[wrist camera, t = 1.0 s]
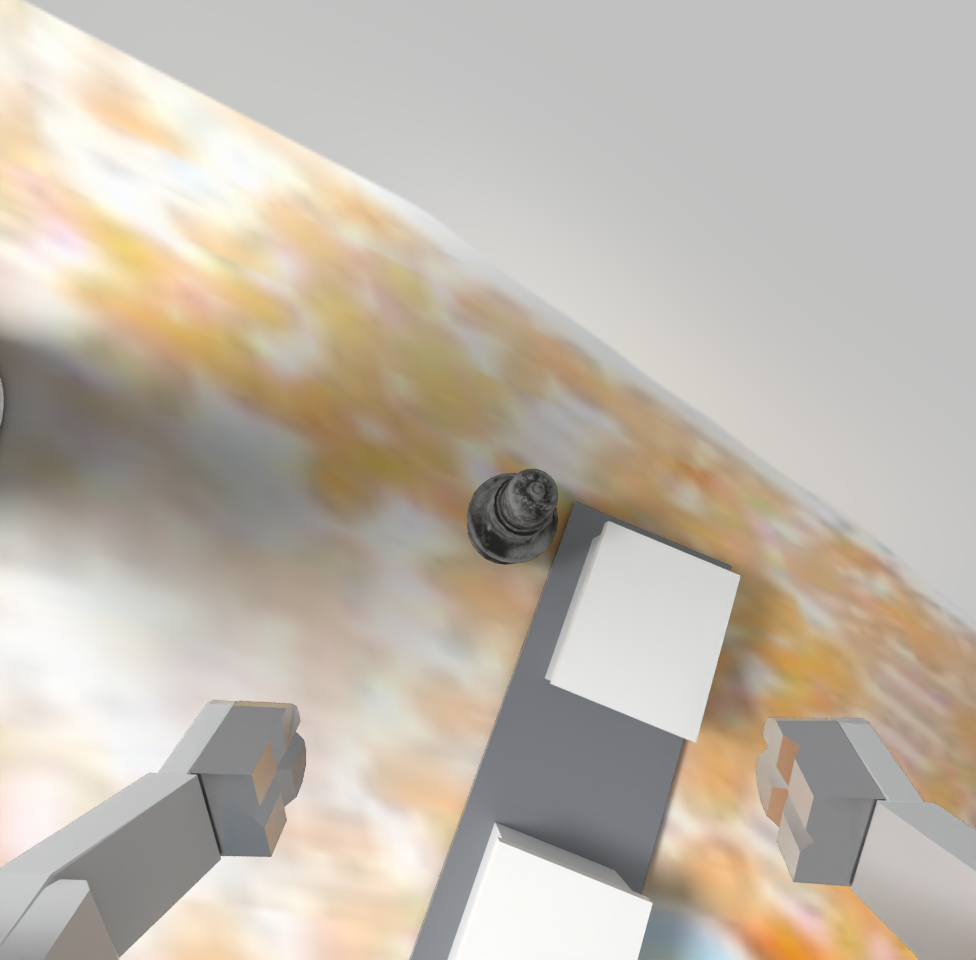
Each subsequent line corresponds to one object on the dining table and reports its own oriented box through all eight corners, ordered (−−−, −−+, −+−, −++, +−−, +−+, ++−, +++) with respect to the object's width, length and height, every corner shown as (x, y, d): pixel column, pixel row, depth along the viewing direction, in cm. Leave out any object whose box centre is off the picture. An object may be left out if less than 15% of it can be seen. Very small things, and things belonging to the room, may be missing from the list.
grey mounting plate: (385, 1026, 34) (380, 1095, 29) (574, 503, 43) (595, 485, 38) (579, 1103, 35) (608, 1184, 30) (727, 566, 44) (769, 558, 38)
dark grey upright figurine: (546, 487, 43) (594, 434, 32) (546, 570, 42) (597, 546, 30) (464, 483, 43) (483, 428, 31) (462, 567, 41) (481, 542, 30)
